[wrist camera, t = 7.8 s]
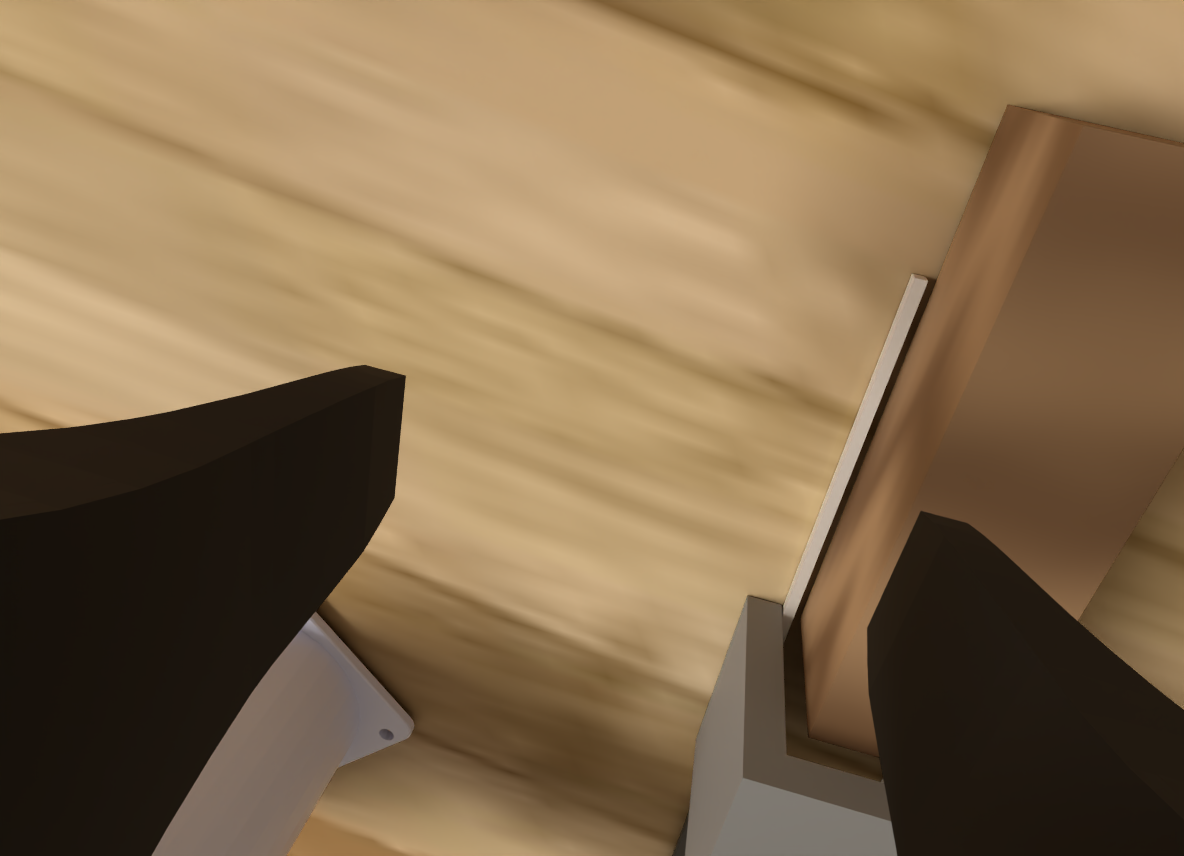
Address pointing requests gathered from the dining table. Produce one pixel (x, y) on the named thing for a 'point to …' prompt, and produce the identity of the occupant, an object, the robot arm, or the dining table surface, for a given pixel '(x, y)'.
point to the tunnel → (757, 711)
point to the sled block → (1021, 389)
